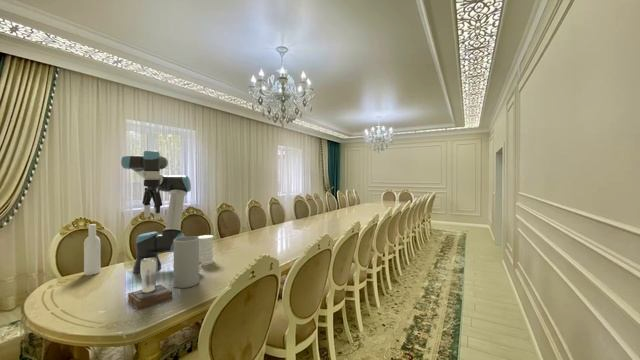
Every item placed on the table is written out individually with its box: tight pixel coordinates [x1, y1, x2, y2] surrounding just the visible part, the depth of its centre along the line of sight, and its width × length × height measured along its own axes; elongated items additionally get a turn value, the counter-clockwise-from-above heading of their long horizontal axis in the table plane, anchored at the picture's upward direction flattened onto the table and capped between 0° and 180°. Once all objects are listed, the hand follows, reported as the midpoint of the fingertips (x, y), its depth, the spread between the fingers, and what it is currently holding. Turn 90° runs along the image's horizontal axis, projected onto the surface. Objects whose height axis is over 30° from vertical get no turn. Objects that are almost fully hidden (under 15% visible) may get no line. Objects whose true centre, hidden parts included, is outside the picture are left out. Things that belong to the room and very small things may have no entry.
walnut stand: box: [127, 284, 173, 311], centre depth 129 cm, size 14×14×4 cm
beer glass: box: [139, 258, 158, 293], centre depth 130 cm, size 7×7×15 cm
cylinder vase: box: [173, 235, 200, 289], centre depth 149 cm, size 12×12×25 cm
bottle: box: [83, 223, 102, 276], centre depth 166 cm, size 8×8×30 cm
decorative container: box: [197, 234, 215, 266], centre depth 186 cm, size 12×12×18 cm
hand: (152, 218), depth 148 cm, fingers open, 13 cm apart
